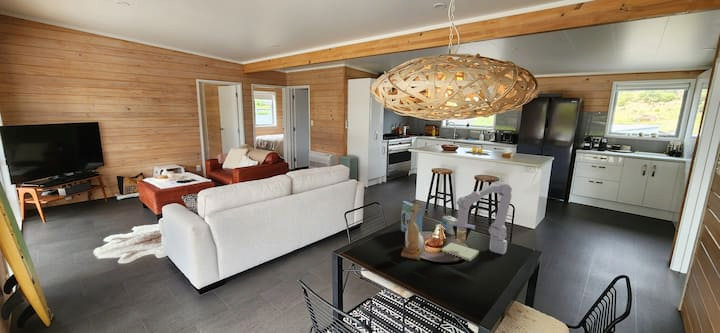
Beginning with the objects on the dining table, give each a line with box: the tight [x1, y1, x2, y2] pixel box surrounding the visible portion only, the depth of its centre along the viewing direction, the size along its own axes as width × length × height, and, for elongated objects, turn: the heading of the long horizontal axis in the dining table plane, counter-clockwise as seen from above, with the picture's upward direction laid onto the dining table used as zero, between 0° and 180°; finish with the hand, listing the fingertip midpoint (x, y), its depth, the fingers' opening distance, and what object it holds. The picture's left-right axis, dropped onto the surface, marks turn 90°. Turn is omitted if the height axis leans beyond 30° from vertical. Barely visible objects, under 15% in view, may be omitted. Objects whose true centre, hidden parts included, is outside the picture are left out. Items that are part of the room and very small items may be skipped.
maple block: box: [456, 229, 466, 245], centre depth 180 cm, size 5×5×6 cm
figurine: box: [404, 228, 425, 249], centre depth 181 cm, size 11×11×15 cm
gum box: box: [400, 200, 424, 236], centre depth 202 cm, size 19×5×23 cm, turn 22°
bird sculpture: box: [400, 202, 423, 261], centre depth 173 cm, size 11×12×32 cm
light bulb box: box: [441, 215, 460, 235], centre depth 213 cm, size 11×7×11 cm, turn 25°
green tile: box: [440, 242, 480, 262], centre depth 181 cm, size 18×14×2 cm
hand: (460, 238), depth 180 cm, fingers closed on maple block, 5 cm apart
